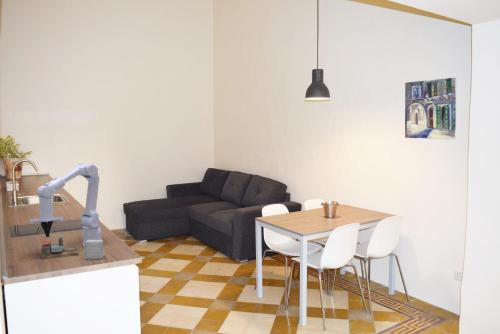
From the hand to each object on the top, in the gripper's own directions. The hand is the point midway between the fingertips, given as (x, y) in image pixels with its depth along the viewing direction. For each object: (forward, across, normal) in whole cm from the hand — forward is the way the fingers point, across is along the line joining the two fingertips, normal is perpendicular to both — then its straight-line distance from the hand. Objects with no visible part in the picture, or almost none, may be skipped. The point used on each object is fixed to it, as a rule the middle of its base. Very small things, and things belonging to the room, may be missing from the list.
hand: (47, 236), depth 203 cm
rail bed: (+9, +6, -1) cm, 11 cm away
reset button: (+3, -1, -1) cm, 4 cm away
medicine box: (+10, +21, -14) cm, 27 cm away
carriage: (+7, +4, -1) cm, 8 cm away
